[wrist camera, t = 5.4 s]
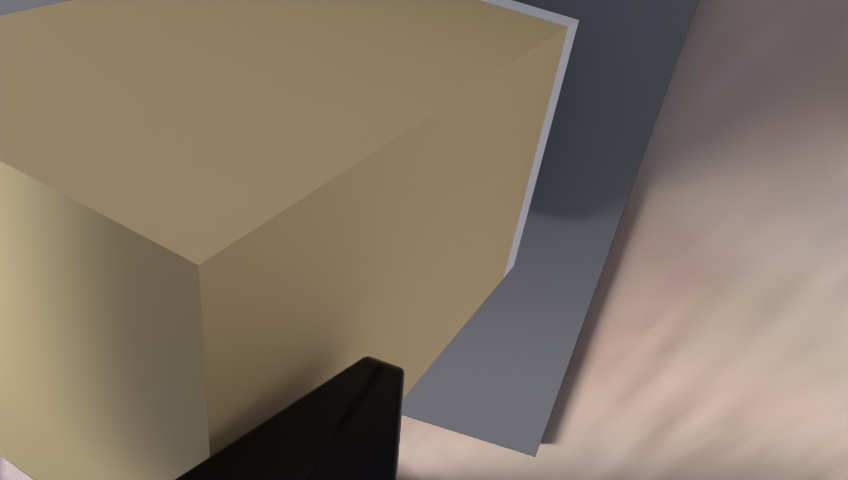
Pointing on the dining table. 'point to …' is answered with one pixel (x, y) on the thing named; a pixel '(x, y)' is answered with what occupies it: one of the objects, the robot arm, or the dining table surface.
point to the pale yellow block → (248, 208)
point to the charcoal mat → (554, 224)
